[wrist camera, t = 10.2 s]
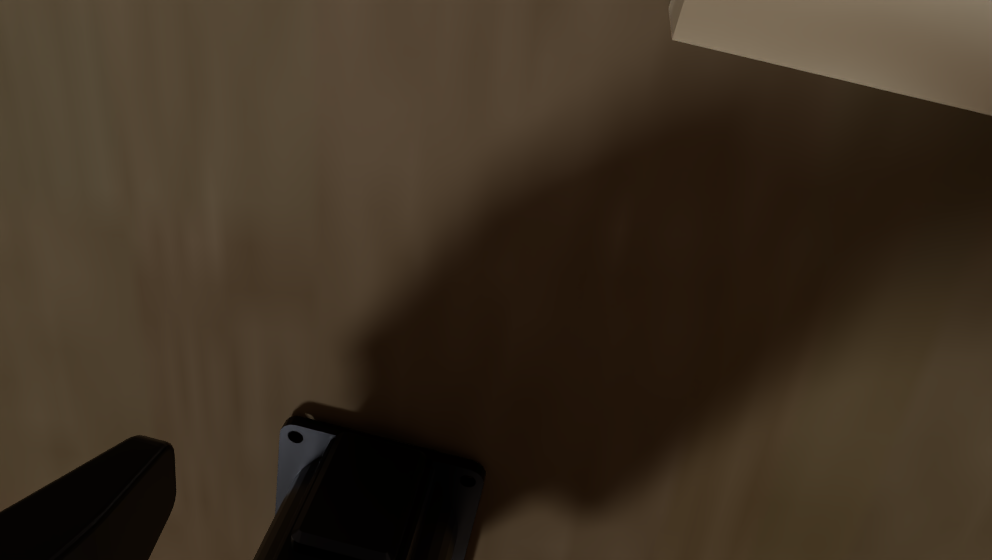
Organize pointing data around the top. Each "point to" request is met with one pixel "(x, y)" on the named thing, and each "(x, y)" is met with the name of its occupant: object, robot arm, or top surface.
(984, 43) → the stand
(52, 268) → the top surface
